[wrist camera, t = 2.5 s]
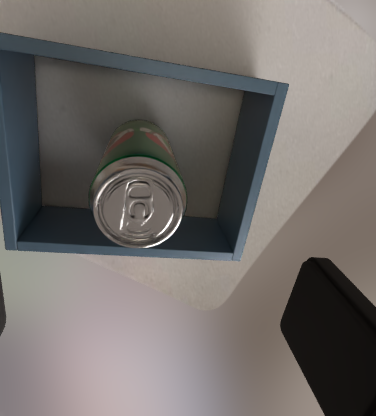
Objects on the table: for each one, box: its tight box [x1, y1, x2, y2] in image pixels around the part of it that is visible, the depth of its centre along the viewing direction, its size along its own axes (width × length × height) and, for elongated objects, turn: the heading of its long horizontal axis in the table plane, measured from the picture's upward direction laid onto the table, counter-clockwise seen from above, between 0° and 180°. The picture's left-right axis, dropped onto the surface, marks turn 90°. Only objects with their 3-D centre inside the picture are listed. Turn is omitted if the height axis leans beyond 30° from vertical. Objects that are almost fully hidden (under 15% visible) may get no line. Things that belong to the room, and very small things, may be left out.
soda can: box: [89, 120, 187, 248], centre depth 20 cm, size 5×5×12 cm
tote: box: [0, 32, 289, 261], centre depth 22 cm, size 18×14×6 cm
